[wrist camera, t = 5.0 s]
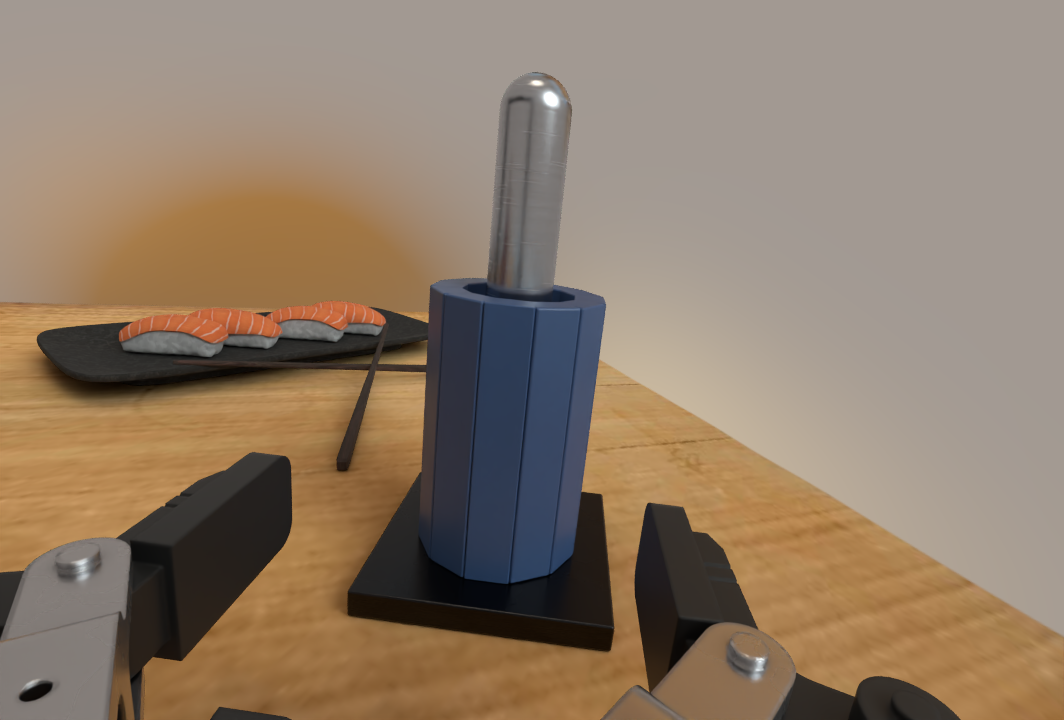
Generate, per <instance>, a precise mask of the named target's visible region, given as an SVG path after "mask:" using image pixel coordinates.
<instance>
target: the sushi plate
mask: <svg viewBox="0 0 1064 720" xmlns="http://www.w3.org/2000/svg"><path fill="white" fill-rule="evenodd" d="M428 324H429V323H426V322H423V321H420V320H417V319H414V318H410V317H407V316H404V315H401V314H398V313H394V312H391V311H387V310H383V309H379V308H372V307H367V306H364V305H359V304H355V303H349V302H341V301H327V302H321V303H316V304H314V305H312V306H293V307H286V308H282V309H279V310H276V311H274V312H264V313H252V312H247V311H242V310H235V309H227V308H212V309H204V310H199V311H196V312H193V313H191V314H190V315H188V316H186V315H177V314H171V315H159V316H151V317H147V318H143V319H140V320H138V321H135V322H124V323H110V324H98V325H86V326H75V327H66V328H59V329H52V330H47V331H44V332H42V333H40V334H39V335H38V336H37V343H38V345H39V347H40V349H41V350H42V351H43V353H44V354H45V355H46V356H47V357H48V358H49V359H50V361H51V362H52V363H53V364H54V365H55V366H56V367H57V368H58V369H60V370H61V371H62V372H63V373H65V374H66V375H68V376H70V377H72V378H74V379H78V380H81V381H88V382H120V383H124V384H130V385H153V384H164V383H173V382H180V381H188V380H195V379H202V378H209V377H215V376H222V375H229V374H236V373H242V372H249V371H256V370H263V369H270V368H307V369H343V370H369V372H368V375H367V377H366V380H365V383H364V385H363V388H362V391H361V393H360V396H359V399H358V401H357V404H356V407H355V409H354V412H353V415H352V418H351V420H350V423H349V426H348V429H347V431H346V434H345V437H344V440H343V442H342V445H341V448H340V451H339V454H338V457H337V470H347V468H348V467H349V464H350V461H351V457H352V454H353V450H354V447H355V443H356V440H357V436H358V433H359V429H360V426H361V422H362V419H363V415H364V411H365V408H366V404H367V400H368V397H369V393H370V389H371V386H372V382H373V378H374V375H375V371H402V372H426V367H427V365H394V364H378V361H379V358H380V354H381V352H384V351H390V350H394V349H398V348H400V347H401V346H402V344H405V343H411V342H417V341H424V340H428ZM371 353H375V355H374V358H373V361H372V364H338V363H310V362H317V361H324V360H331V359H337V358H344V357H351V356H358V355H365V354H371Z"/></svg>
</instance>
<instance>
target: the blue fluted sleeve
mask: <svg viewBox="0 0 1064 720" xmlns="http://www.w3.org/2000/svg"><path fill="white" fill-rule="evenodd" d="M486 290H487V279H484V278H465V279H464V278H463V279H448V280H441V281H439V282H436V283H434V284H433V285H431V286H430V303H429V324H428V345H427V367H426V388H425V409H424V430H423V451H422V472H421V493H420V514H419V537H420V539H421V541H422V543H423V546H424V548H425V550H426V552H427V554H428V556H429V558H431V560H433V561H434V562H436V563H438V564H439V565H441V566H443V567H445V568H446V569H448V570H450V571H452V572H453V573H455V574H457V575H459V576H460V577H463V576H464V578H465V579H471V580H478V581H486V582H493V583H501V584H508V582H509V583H516V582H520V581H524V580H529V579H533V578H538V577H542V576H547V575H548V574H552V573H553V572H554V571H555V570H556V569H557V568H558V567H559V566H561V565H562V564H563V563H564V562H565V561H566V560H567V559H568V558H570V557H571V556H572V554H573V551H574V543H575V536H576V528H577V521H578V513H579V506H580V498H581V490H582V483H583V475H584V468H585V460H586V453H587V445H588V438H589V430H590V422H591V415H592V407H593V400H594V392H595V385H596V377H597V369H598V362H599V354H600V346H601V339H602V332H603V324H604V317H605V309H606V304H605V300H604V298H603V297H601V296H598V295H595V294H592V293H589V292H586V291H583V290H578V289H574V288H568V287H563V286H557V285H554V287H553V296H552V302H530V301H521V300H512V299H503V298H494V297H489V296H486Z"/></svg>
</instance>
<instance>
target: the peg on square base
mask: <svg viewBox="0 0 1064 720" xmlns="http://www.w3.org/2000/svg"><path fill="white" fill-rule="evenodd" d="M571 116H572V107H571V102H570V98H569V96H568V93H567V91H566V90H565V88H564V87H563V85H562V84H561V83H560V82H559V81H558V80H556V79H555V78H553V77H552V76H550V75H547V74H544V73H538V72H533V73H528V74H525V75H522V76H520V77H518V78H517V79H516V80H514V81H513V82H512V83H511V84H510V85H509V86H508V88H507V89H506V91H505V93H504V95H503V97H502V101H501V105H500V116H499V129H498V143H497V155H496V169H495V182H494V196H493V209H492V222H491V236H490V249H489V264H488V276H487V290H486V296H489V297H494V298H503V299H512V300H521V301H530V302H552V296H553V287H554V277H555V268H556V258H557V249H558V239H559V230H560V219H561V211H562V201H563V191H564V182H565V172H566V164H567V155H568V144H569V135H570V126H571ZM420 493H421V472H420V473H419V475H418V477H417V478H416V480H415V482H414V483H413V485H412V487H411V488H410V490H409V491H408V493H407V495H406V496H405V498H404V500H403V501H402V503H401V505H400V506H399V508H398V510H397V511H396V513H395V514H394V516H393V518H392V519H391V521H390V523H389V524H388V526H387V528H386V529H385V531H384V533H383V534H382V536H381V538H380V539H379V541H378V542H377V544H376V546H375V547H374V549H373V551H372V552H371V554H370V556H369V557H368V559H367V561H366V562H365V564H364V565H363V567H362V569H361V570H360V572H359V574H358V575H357V577H356V579H355V580H354V582H353V584H352V585H351V587H350V589H349V590H348V615H351V616H358V617H365V618H372V619H380V620H387V621H394V622H401V623H408V624H415V625H423V626H430V627H437V628H444V629H451V630H458V631H466V632H473V633H480V634H487V635H494V636H501V637H509V638H516V639H523V640H530V641H537V642H545V643H552V644H559V645H566V646H573V647H580V648H588V649H595V650H602V651H610V650H611V646H612V640H613V634H614V618H613V607H612V596H611V586H610V575H609V564H608V553H607V542H606V531H605V520H604V509H603V498H602V495H601V494H595V493H587V492H581V498H580V506H579V513H578V521H577V528H576V536H575V543H574V551H573V554H572V556H571V557H570V558H568V559H567V560H566V561H565V562H564V563H563V564H562V565H561V566H559V567H558V568H557V569H556V570H555V571H554V572H553V573H552V574H548V575H547V576H542V577H538V578H533V579H529V580H524V581H520V582H516V583H509V582H508V584H501V583H493V582H486V581H478V580H471V579H465V578H464V576H463V577H460V576H459V575H457V574H455V573H453V572H452V571H450V570H448V569H446V568H445V567H443V566H441V565H439V564H438V563H436V562H434V561H433V560H431V558H429V556H428V554H427V552H426V550H425V548H424V546H423V543H422V541H421V539H420V537H419V514H420Z"/></svg>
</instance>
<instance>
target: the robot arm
mask: <svg viewBox="0 0 1064 720" xmlns="http://www.w3.org/2000/svg"><path fill="white" fill-rule="evenodd" d="M291 525H292V489H291V464H290V461H289V459H288V458H287V457H286V456H280V455H272V454H264V453H256V452H252V453H249V454H248V455H246V456H245V457H243V458H242V459H241V460H239V461H238V462H237V463H235V464H234V465H232V466H231V467H230V468H228V469H227V470H226V471H221V472H219V473H216V474H214V475H211V476H208V477H206V478H203V479H201V480H198V481H197V482H196V483H194V484H193V485H191V486H190V487H189V488H187V489H186V490H184V491H183V492H181V494H180V496H176V497H174V498H173V499H171V500H170V501H169V502H167V503H166V505H165V507H163V506H161V507H160V508H159V509H157V510H156V511H154V512H153V513H151V514H150V515H149V516H147V517H146V518H144V519H143V520H141V521H140V522H139V523H137V524H136V525H134V526H133V527H131V528H130V529H129V530H127V531H126V532H124V533H123V534H121V535H120V536H119V537H117V538H116V539H115V538H91V539H85V540H80V541H75V542H72V543H68V544H65V545H62V546H60V547H57V548H55V549H53V550H50V551H48V552H46V553H45V554H43V555H41V556H39V557H38V558H36V559H35V560H34V561H33V562H31V563H30V564H29V565H28V566H27V568H26V569H25V571H15V572H2V573H0V720H144V695H145V677H144V668H143V667H144V666H145V665H146V663H147V662H148V661H149V660H150V659H151V658H152V657H157V658H163V659H170V660H177V661H182V660H183V659H184V658H185V657H186V656H187V654H188V653H189V652H190V651H191V650H192V649H193V648H194V647H195V645H196V644H197V643H198V642H199V641H200V640H201V639H202V638H203V636H204V635H205V634H206V633H207V632H208V631H209V630H210V628H211V627H212V626H213V625H214V624H215V623H216V622H217V621H218V619H219V618H220V617H221V616H222V615H223V614H224V613H225V612H226V610H227V609H228V608H229V607H230V606H231V605H232V604H233V603H234V601H235V600H236V599H237V598H238V597H239V596H240V595H241V594H242V592H243V591H244V590H245V589H246V588H247V587H248V586H249V585H250V583H251V582H252V581H253V580H254V579H255V578H256V577H257V576H258V574H259V573H260V572H261V571H262V570H263V569H264V568H265V567H266V565H267V564H268V563H269V562H270V561H271V560H272V559H273V557H274V556H275V555H276V554H277V553H278V552H279V551H280V550H281V548H282V547H283V546H284V544H285V542H286V541H287V538H288V536H289V533H290V529H291ZM635 599H636V605H637V612H638V619H639V625H640V632H641V638H642V645H643V652H644V658H645V665H646V672H647V678H648V685H649V692H650V693H649V692H648V691H646V690H645V689H644V688H642V687H641V686H639V685H636V686H633V687H632V688H630V689H629V690H628V691H627V692H626V693H625V694H624V695H623V696H622V697H621V698H620V699H619V700H618V701H617V703H616V704H615V705H614V706H613V707H612V708H611V709H610V710H609V711H608V712H607V713H606V714H605V715H604V716H603V718H602V719H601V720H960V718H959V717H958V716H957V715H956V714H955V713H954V712H953V711H952V710H950V709H949V708H948V707H947V706H946V705H945V704H943V703H942V702H941V701H939V700H938V699H937V698H935V697H934V696H932V695H931V694H929V693H927V692H926V691H924V690H922V689H920V688H918V687H916V686H914V685H912V684H909V683H907V682H904V681H901V680H898V679H894V678H890V677H882V676H875V677H869V678H867V679H865V680H863V681H862V682H861V683H860V684H859V686H858V688H857V691H856V695H855V697H854V696H851V695H848V694H846V693H843V692H840V691H838V690H835V689H832V688H830V687H827V686H824V685H822V684H819V683H816V682H814V681H812V680H809V679H807V678H805V677H803V676H801V675H800V674H798V673H796V669H795V665H794V663H793V660H792V658H791V657H790V655H789V654H788V652H787V651H786V650H785V649H784V648H783V647H782V646H781V645H780V644H779V643H778V642H777V641H775V640H774V639H773V638H771V637H770V636H768V635H767V634H765V633H763V632H761V631H759V630H758V628H757V626H756V623H755V621H754V619H753V616H752V614H751V612H750V610H749V607H748V605H747V603H746V600H745V598H744V596H743V594H742V591H741V589H740V587H739V584H737V580H736V577H735V575H734V573H733V571H732V569H730V564H729V561H728V559H727V557H726V554H725V552H724V550H723V548H721V547H720V546H719V545H718V544H717V543H716V542H715V541H714V540H713V539H712V538H711V537H710V536H709V535H708V534H707V533H699V532H692V530H691V527H690V524H689V521H688V518H687V516H686V513H685V510H684V508H683V507H679V506H671V505H663V504H655V503H648V504H647V506H646V510H645V514H644V520H643V526H642V532H641V538H640V544H639V550H638V556H637V562H636V569H635ZM210 720H291V719H289V718H287V717H283V716H276V715H270V714H263V713H257V712H250V711H243V710H237V709H230V708H224V707H219V708H218V710H217V711H216V712H215V714H214V715H213V716H212V718H211V719H210Z"/></svg>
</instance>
